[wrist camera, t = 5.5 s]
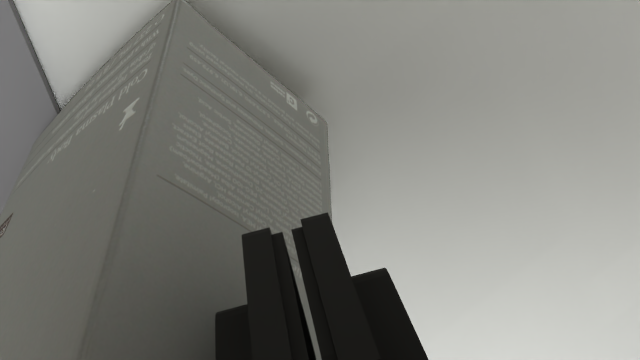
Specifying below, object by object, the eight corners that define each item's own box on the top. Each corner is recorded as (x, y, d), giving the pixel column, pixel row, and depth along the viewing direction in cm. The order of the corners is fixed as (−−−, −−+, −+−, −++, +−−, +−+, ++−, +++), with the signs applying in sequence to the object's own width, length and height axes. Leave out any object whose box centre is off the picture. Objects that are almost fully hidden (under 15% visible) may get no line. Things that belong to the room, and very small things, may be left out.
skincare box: (180, -17, 17) (-121, 796, 5) (347, 132, 20) (400, 812, 9) (21, 145, 21) (-365, 830, 9) (186, 247, 24) (69, 831, 12)
